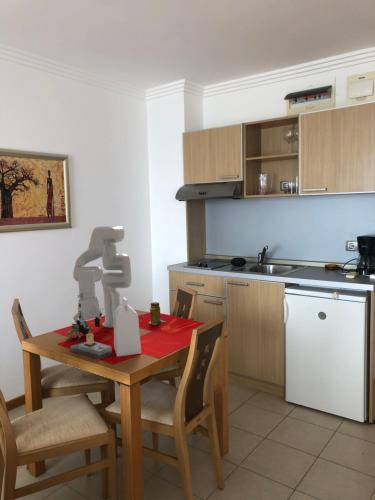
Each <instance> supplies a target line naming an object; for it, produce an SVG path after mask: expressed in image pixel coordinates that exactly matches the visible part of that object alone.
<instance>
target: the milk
mask: <svg viewBox="0 0 375 500" xmlns="http://www.w3.org/2000/svg"><path fill="white" fill-rule="evenodd" d="M113 345H114V346H113V348H114V351H115V355H116V357H123V356H124V357H125V356H131V355H137V354H138V355H139V354H142V345H141V334H140V324H139V315H138V313H137V311H136V310H135V309H134V308H133V307H132V306H131V305H129V304H128V299H127V297H125V296H124V297H123V296H122V302H121V305H120V306H118V307H117V309H116V310H115V311H114V327H113Z"/></svg>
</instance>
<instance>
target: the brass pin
mask: <svg viewBox="0 0 375 500" xmlns="http://www.w3.org/2000/svg"><path fill="white" fill-rule="evenodd" d="M85 336H86V342H87V346H88V347H91V346H94V342H95V341H94V334H93V333H91V332H90V333H89V334H86V335H85Z"/></svg>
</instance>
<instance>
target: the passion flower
mask: <svg viewBox="0 0 375 500" xmlns="http://www.w3.org/2000/svg"><path fill="white" fill-rule="evenodd" d="M71 325H72V326H71V329H70V330H68V333H67V337H68V338H72V337H73V335H74V338H77V337H78V339H77V340H78V341H79V340H80V338H81V337H82V336H86V335H87V334H90V333H89V332H94V331H95V330H94V329H92V328H91V326H90V324H89V323H88V322H87V320H86V321H84V323H83V325H84V333H81V332H79V327H78V324H77V323H76V322H73V323H71Z"/></svg>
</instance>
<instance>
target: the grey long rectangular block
mask: <svg viewBox="0 0 375 500" xmlns="http://www.w3.org/2000/svg"><path fill="white" fill-rule="evenodd" d="M69 350H70V351H71V352H75V353H78V354H81V355H83V356H87V357H90V358H92V359H93V358H94V359H96V360H101V359H105V358H107V357H109V356H112V355H113V350H112V346H110V345H107V344H104V343H101V342H97V341H94V346H91V347H88V346H87V341H86V342H83V341H82V342H78V343H76V344H74V345H71V346H69Z"/></svg>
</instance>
